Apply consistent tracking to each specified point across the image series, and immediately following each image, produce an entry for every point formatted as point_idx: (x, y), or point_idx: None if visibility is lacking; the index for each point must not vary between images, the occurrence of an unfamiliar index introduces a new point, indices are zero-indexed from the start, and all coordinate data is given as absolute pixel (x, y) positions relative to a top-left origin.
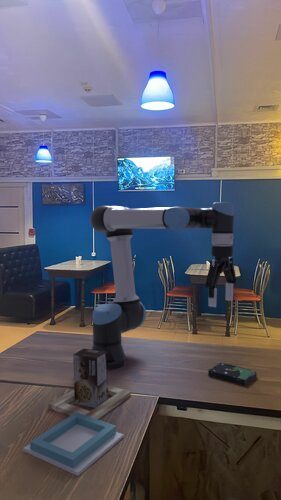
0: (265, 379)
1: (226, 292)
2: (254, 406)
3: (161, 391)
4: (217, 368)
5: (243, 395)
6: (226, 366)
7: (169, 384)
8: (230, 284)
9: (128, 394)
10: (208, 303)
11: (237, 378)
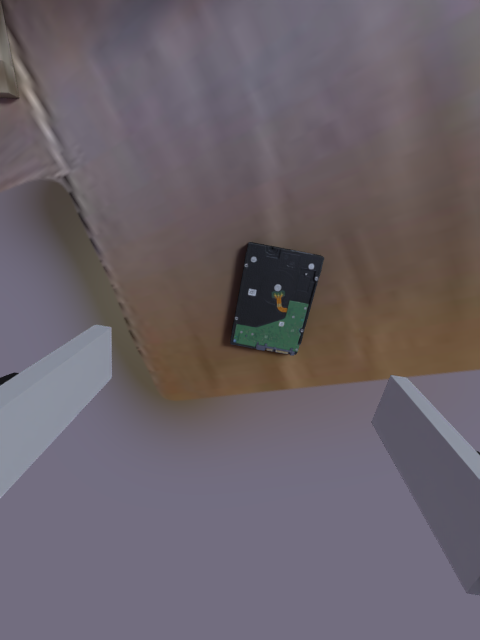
0: (288, 368)
1: (424, 428)
2: (150, 370)
3: (93, 165)
4: (272, 263)
5: (183, 344)
6: (304, 279)
7: (140, 165)
8: (471, 561)
9: (1, 94)
10: (81, 334)
11: (233, 325)
